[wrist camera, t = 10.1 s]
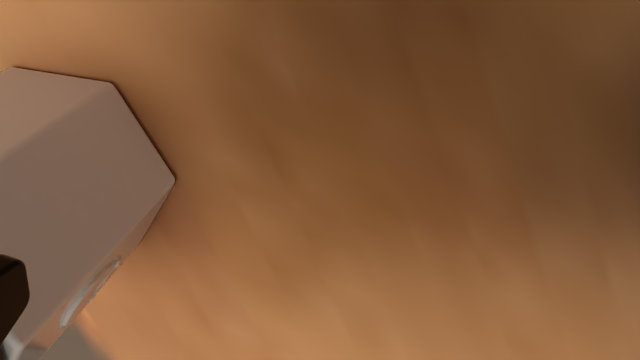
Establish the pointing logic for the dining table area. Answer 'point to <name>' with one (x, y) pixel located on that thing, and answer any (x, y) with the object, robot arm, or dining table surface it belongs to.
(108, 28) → the dining table surface
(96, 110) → the jar
